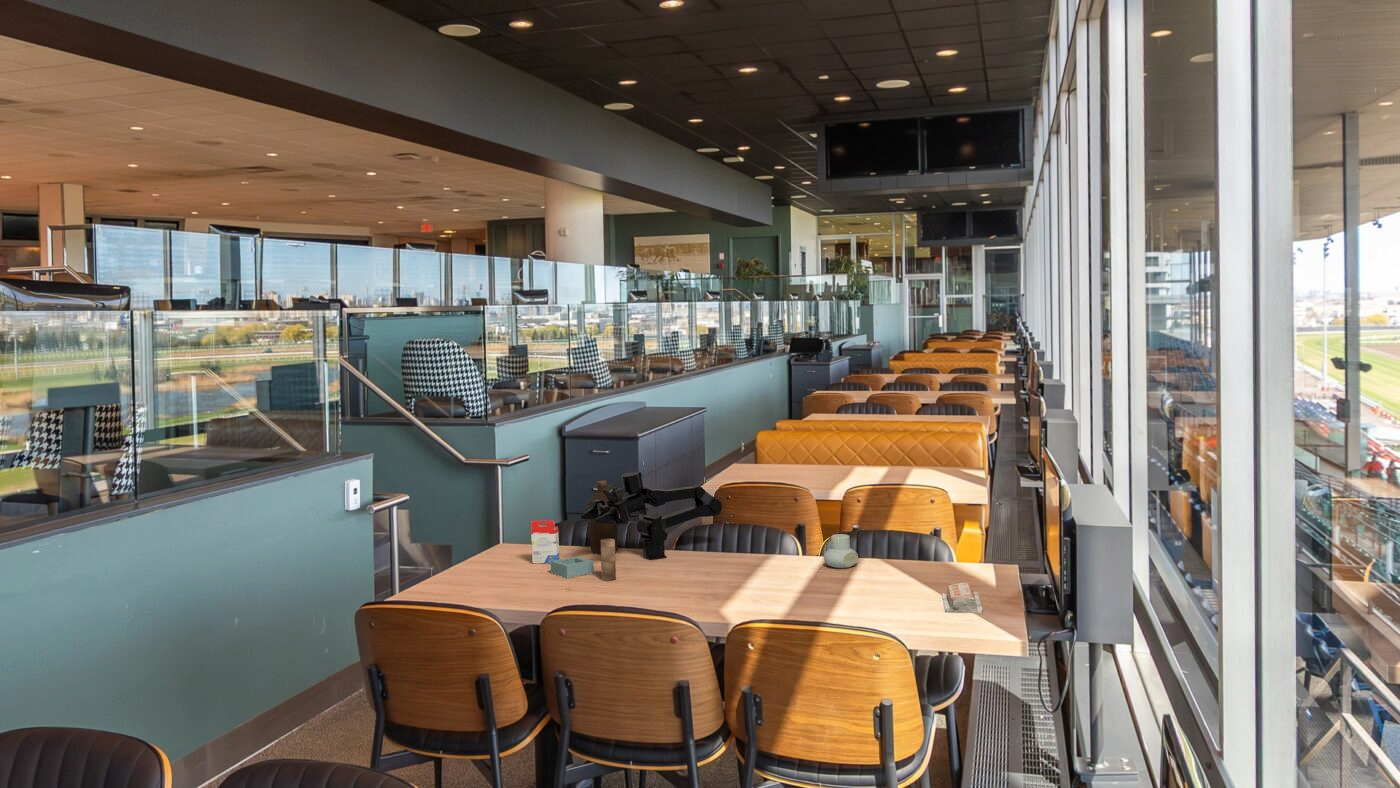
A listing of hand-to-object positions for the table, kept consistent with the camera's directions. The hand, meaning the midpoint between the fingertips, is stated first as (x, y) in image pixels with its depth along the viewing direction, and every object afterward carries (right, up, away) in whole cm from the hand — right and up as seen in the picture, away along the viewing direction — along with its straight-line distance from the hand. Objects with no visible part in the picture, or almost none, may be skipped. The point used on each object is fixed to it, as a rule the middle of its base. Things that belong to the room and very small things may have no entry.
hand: (587, 519), depth 347 cm
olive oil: (+3, -15, +28) cm, 32 cm away
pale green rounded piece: (+82, -15, -6) cm, 83 cm away
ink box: (-15, -16, +13) cm, 26 cm away
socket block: (-4, -17, -5) cm, 18 cm away
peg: (+8, -17, -14) cm, 24 cm away
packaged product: (+109, -18, -55) cm, 123 cm away
